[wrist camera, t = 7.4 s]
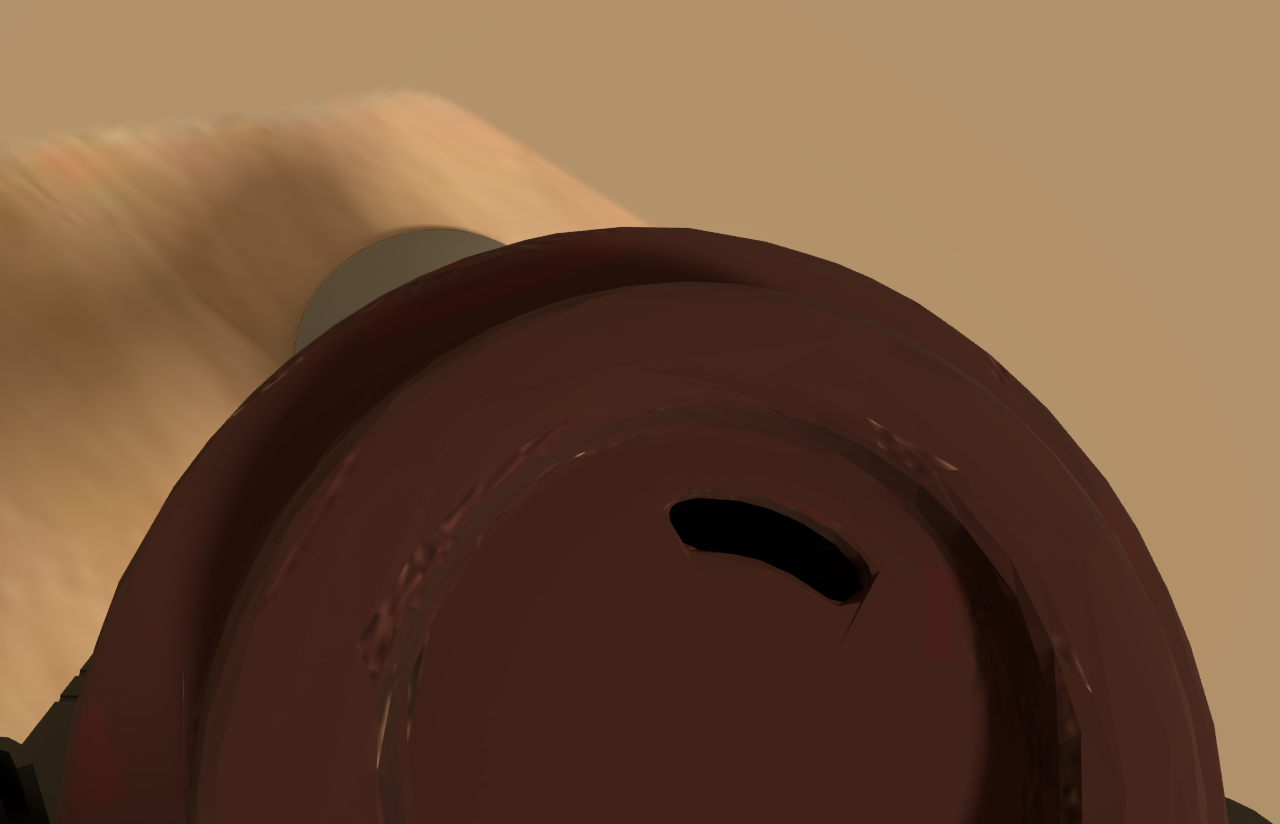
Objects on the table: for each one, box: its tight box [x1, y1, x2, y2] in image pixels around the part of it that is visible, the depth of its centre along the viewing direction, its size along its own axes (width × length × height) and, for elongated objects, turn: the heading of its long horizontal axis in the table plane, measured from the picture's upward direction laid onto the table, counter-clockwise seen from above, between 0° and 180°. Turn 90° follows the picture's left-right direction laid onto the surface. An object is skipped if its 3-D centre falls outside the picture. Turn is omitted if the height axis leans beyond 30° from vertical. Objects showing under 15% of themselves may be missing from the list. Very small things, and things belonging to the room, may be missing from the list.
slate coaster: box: [294, 230, 506, 355], centre depth 35 cm, size 12×12×1 cm
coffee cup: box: [56, 227, 1229, 824], centre depth 12 cm, size 10×10×15 cm
